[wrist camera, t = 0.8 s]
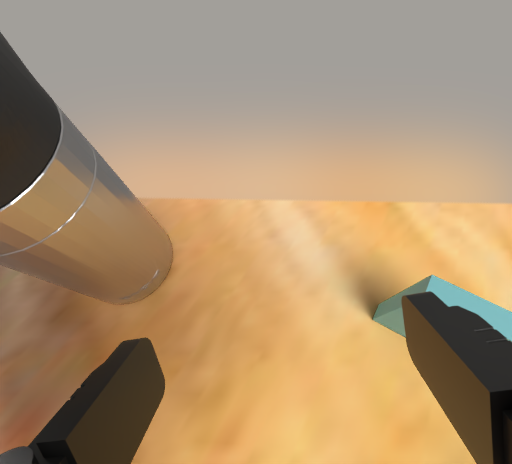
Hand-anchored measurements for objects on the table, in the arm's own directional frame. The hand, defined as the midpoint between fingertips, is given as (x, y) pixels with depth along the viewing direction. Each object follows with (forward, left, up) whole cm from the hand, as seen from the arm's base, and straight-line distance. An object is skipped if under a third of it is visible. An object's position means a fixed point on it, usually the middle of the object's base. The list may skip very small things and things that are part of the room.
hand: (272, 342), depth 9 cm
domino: (+5, +10, -18) cm, 22 cm away
